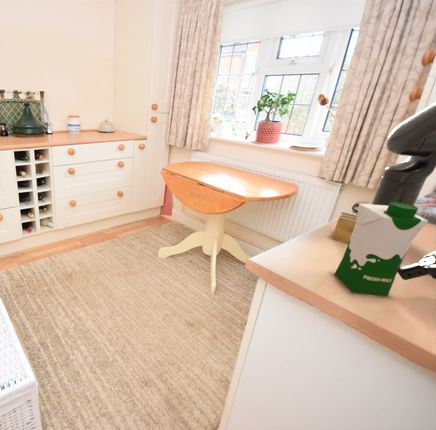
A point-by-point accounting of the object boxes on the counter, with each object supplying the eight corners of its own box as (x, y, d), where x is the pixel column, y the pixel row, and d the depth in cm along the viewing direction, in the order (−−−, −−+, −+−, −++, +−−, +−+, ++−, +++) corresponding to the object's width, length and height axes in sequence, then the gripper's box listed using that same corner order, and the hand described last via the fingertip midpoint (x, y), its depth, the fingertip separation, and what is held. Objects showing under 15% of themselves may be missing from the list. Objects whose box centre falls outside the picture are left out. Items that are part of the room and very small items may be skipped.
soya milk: (350, 295, 62) (387, 208, 54) (327, 271, 70) (357, 192, 62) (395, 300, 61) (440, 211, 53) (367, 275, 69) (402, 195, 61)
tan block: (334, 232, 90) (342, 211, 88) (359, 239, 87) (368, 217, 84) (331, 238, 86) (339, 216, 84) (357, 246, 83) (366, 223, 80)
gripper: (504, 211, 53) (389, 247, 65) (524, 234, 44) (386, 271, 56) (535, 247, 51) (411, 277, 64) (563, 278, 42) (413, 306, 55)
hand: (400, 274), depth 60 cm, fingers closed
